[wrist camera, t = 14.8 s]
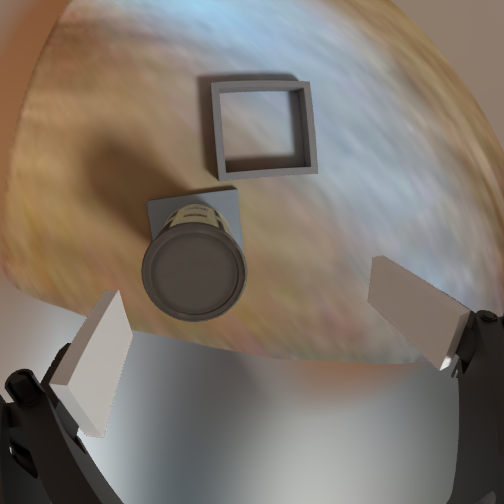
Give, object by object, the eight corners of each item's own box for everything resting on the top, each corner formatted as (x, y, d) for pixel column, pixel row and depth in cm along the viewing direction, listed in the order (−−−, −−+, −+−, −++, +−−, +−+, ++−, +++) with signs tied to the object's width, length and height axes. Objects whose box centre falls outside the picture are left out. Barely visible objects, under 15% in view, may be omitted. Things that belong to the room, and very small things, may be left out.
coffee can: (181, 283, 40) (173, 336, 27) (149, 222, 37) (122, 251, 23) (243, 255, 41) (263, 298, 27) (214, 191, 37) (221, 204, 24)
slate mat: (147, 201, 37) (146, 201, 36) (236, 188, 38) (237, 189, 38) (162, 284, 41) (162, 286, 40) (244, 273, 42) (245, 275, 42)
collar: (210, 87, 33) (210, 82, 31) (303, 86, 35) (309, 81, 33) (218, 180, 37) (219, 181, 35) (311, 173, 39) (318, 173, 37)
